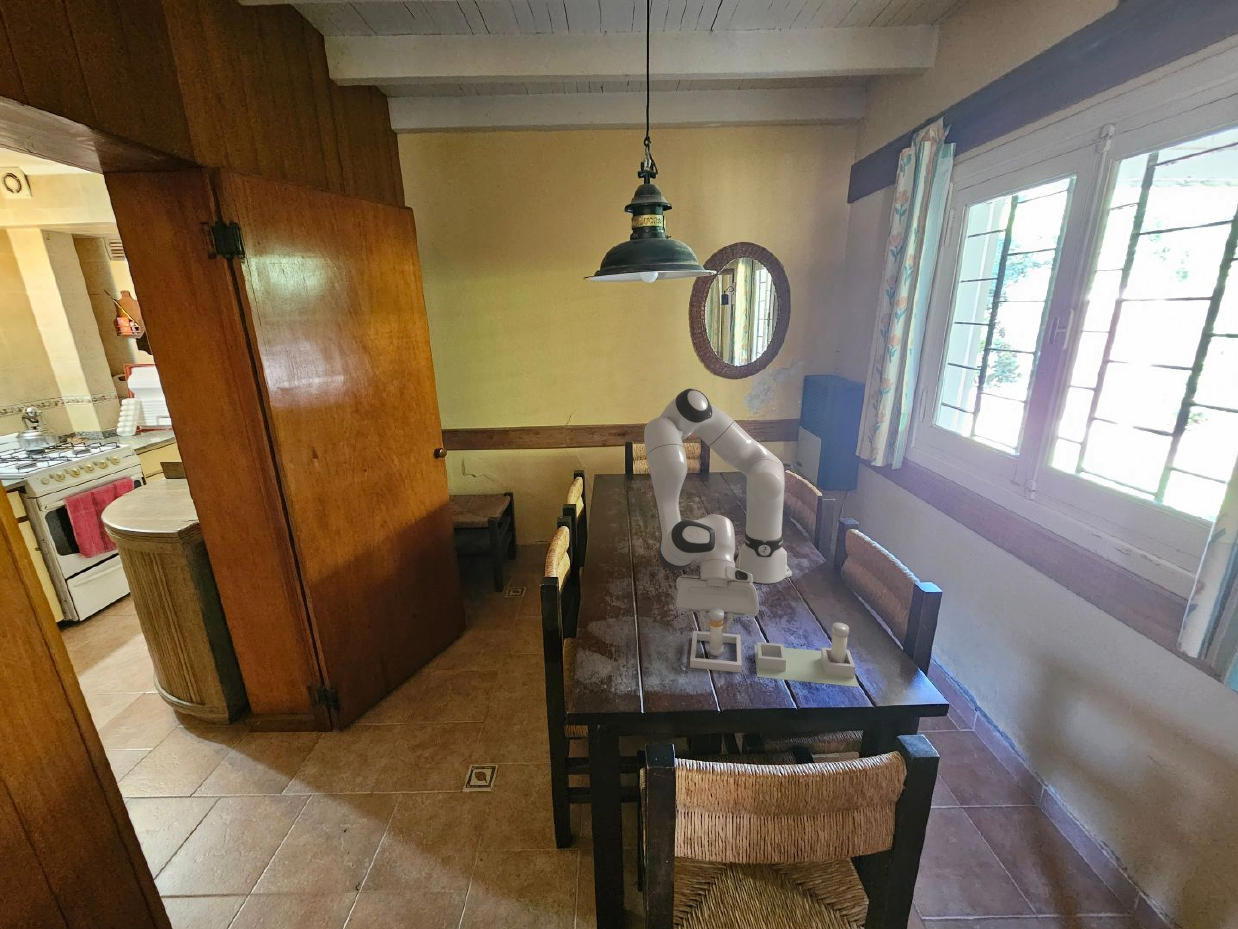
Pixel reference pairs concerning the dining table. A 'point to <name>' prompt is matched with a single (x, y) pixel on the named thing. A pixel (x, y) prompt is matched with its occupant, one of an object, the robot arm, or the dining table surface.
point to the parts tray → (716, 663)
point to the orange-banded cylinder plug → (716, 631)
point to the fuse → (839, 642)
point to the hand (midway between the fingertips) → (716, 631)
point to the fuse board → (803, 665)
